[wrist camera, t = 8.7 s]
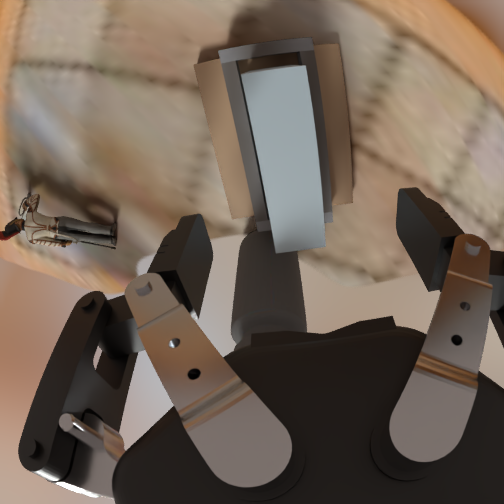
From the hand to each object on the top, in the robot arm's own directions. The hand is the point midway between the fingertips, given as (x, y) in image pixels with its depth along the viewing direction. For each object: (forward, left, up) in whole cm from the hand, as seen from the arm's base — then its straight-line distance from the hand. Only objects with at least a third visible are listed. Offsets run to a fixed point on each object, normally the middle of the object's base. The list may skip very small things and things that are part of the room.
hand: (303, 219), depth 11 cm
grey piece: (0, 0, -14) cm, 14 cm away
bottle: (+3, +12, -15) cm, 19 cm away
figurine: (+24, +3, -15) cm, 29 cm away
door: (0, 0, -13) cm, 13 cm away
